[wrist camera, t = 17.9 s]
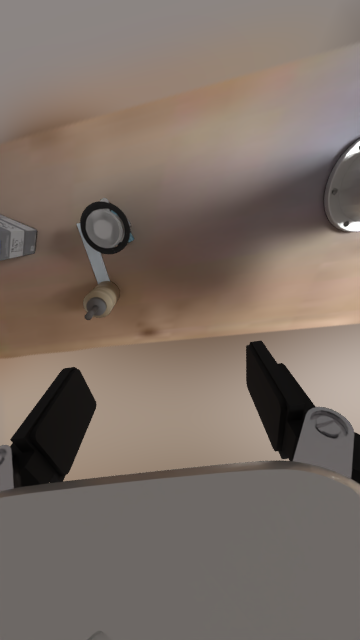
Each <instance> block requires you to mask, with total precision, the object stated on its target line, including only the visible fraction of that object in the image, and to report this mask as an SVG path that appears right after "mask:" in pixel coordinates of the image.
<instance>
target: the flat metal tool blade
mask: <svg viewBox="0 0 360 640" xmlns="http://www.w3.org/2000/svg"><path fill="white" fill-rule="evenodd" d="M77 227H78V229H79V232H80V235H81V238H82V241H83V243H84V246H85V249H86V252H87V254H88V257H89V260H90V263H91V266H92V268H93V271H94V274H95V277H96V279H97V282H98V284H99V283H101V282H103V281H110V280H109V277H108V274H107V271H106V268H105V265H104V262H103V259H102V256H101V253H100V252H98V251H96V250H94V249H93V248H92V247H91V246H90V245H89V244H88V243H87V242H86V240H85V239H84V237H83V235H82V232H81V227H80V223H77Z"/></svg>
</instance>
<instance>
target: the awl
mask: <svg viewBox="0 0 360 640" xmlns="http://www.w3.org/2000/svg"><path fill="white" fill-rule="evenodd" d="M119 297H120V290H119V288H118V286H117V285H116V284H114V283H113V282H110V281H103V282H101V283H99V284H98V285H97V286H96V287H95V288H94V289H93V290H92V291H91V292H90V293H89V294H88V295H86V296H85V298H84V300H83V306H84V309H85V310H86V312H87V314H86V315H85V319H86V320H90V319H91V318H92V317H96V318H103V317H106V316H107V315H108V314H109V313H110V312H111V310H112V309H113V307H114V305H115V304H116V302H117V300H118V299H119Z"/></svg>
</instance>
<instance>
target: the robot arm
mask: <svg viewBox="0 0 360 640" xmlns="http://www.w3.org/2000/svg"><path fill="white" fill-rule="evenodd" d="M324 206H325V212H326V215H327V217H328V219H329V221H330V222H331V223H332V225H334V226H335V227H336V228H338V229H340V230H342V231H348V232H360V139H359V140H357V141H356V142H355V143H353V144H352V145H351V146H350V147H349V148H348V149H347V150H346V151H345V152H344V153H343V155H342V156H341V157H340V158H339V160H338V161H337V163H336V165H335V166H334V168H333V170H332V172H331V174H330V176H329V179H328V182H327V185H326V190H325V195H324ZM246 369H247V370H246V372H247V373H246V381H247V387H248V390H249V392H250V395H251V397H252V399H253V402H254V404H255V407H256V409H257V411H258V414H259V416H260V418H261V421H262V423H263V425H264V428H265V430H266V433H267V435H268V437H269V440H270V442H271V445H272V447H273V449H274V450H275V451H279V454H280V456H281V458H282V459H287V458H289V460H290V461H258V462H245V463H233V464H222V465H212V466H202V467H193V468H183V469H173V470H164V471H155V472H146V473H137V474H128V475H118V476H109V477H100V478H91V479H82V480H74V481H65V482H63V480H64V478H65V475H66V474H68V473H69V471H70V469H71V466H72V464H73V462H74V459H75V456H76V454H77V452H78V450H79V447H80V445H81V442H82V440H83V438H84V435H85V433H86V430H87V428H88V426H89V423H90V421H91V418H92V416H93V414H94V411H95V409H96V401H95V399H94V397H93V395H92V394H91V392H90V389H89V387H88V386H87V384H86V382H85V380H84V378H83V376H82V374H81V372H80V370H79V369H77V368H75V367H72V368H65V369H63V370H62V371H61V372H60V373H59V375H58V376H57V377H56V379H55V380H54V381H53V383H52V384H51V386H50V387H49V388H48V390H47V391H46V392H45V394H44V395H43V396H42V398H41V399H40V400H39V402H38V403H37V404H36V406H35V407H34V408H33V410H32V411H31V413H30V414H29V415H28V417H27V418H26V419H25V421H24V422H23V423H22V425H21V426H20V427H19V429H18V430H17V432H16V433H15V434H14V435H13V437H12V438H11V441H12V442H13V444H12V445H11V446H8V445H2V446H0V640H360V435H359V434H357V433H355V432H354V430H353V427H352V425H351V424H350V422H349V421H348V420H347V419H346V418H345V417H344V416H342V415H341V414H339V413H338V412H336V411H334V410H332V409H328V408H325V407H315V406H314V405H313V403H312V402H311V400H310V399H309V397H308V396H307V395H306V393H305V392H304V391H303V389H302V388H301V387H300V385H299V384H298V383H297V381H296V380H295V378H294V377H293V376H292V374H291V373H290V372H289V370H288V369H287V368H286V366H285V365H284V364H282V363H281V364H277V362H276V361H275V359H274V358H273V357H272V355H271V354H270V352H269V351H268V350H267V348H266V346H265V345H264V344H263V342H262V341H255V342H250V345H247V346H246ZM49 482H50V483H49Z"/></svg>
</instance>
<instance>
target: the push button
mask: <svg viewBox="0 0 360 640" xmlns="http://www.w3.org/2000/svg"><path fill="white" fill-rule="evenodd" d="M100 201H101V202H95V203H92V204H90V205H89V206H88V207H86V209H85V210H84V211H83V213H82V216H81V221H80V227H81V232H82V235H83V237H84V239H85V240H86V242H87V243H88V244H89V245H90V246H91V247H92V248H93V249H94V250H96V251H98V252H100V253H103V254H114V253H117V252H119V251H121V250H122V249H124V248H125V246H126V245H127V243H129V242H131V241H133V240H134V238H133V236H132V235H131V231H130V226H131V224H130V222H129V220H128V219H127V218H126V216H125V214H124V213H123V212H122V211H121V210H120V209H119V208H118V207H116V206H115V205H113V204H111V203H109V201H108V199H107V198H103V199H101V200H100ZM116 245H118V246H117V247H114V246H116Z"/></svg>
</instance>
